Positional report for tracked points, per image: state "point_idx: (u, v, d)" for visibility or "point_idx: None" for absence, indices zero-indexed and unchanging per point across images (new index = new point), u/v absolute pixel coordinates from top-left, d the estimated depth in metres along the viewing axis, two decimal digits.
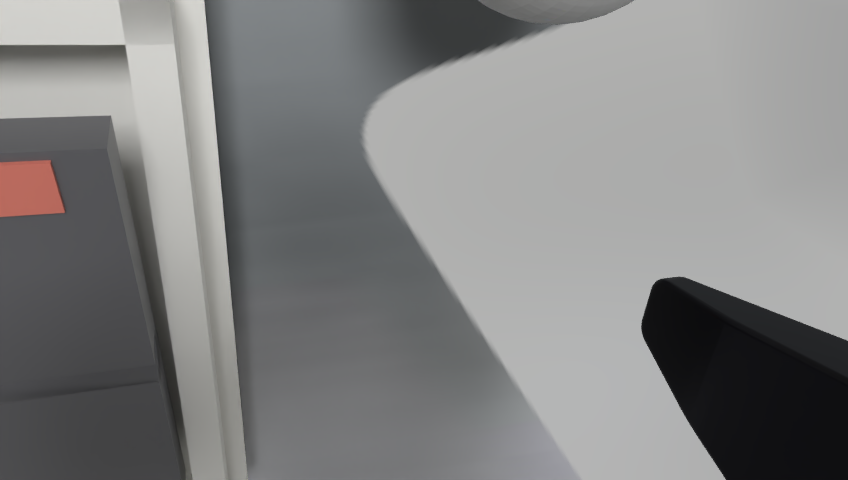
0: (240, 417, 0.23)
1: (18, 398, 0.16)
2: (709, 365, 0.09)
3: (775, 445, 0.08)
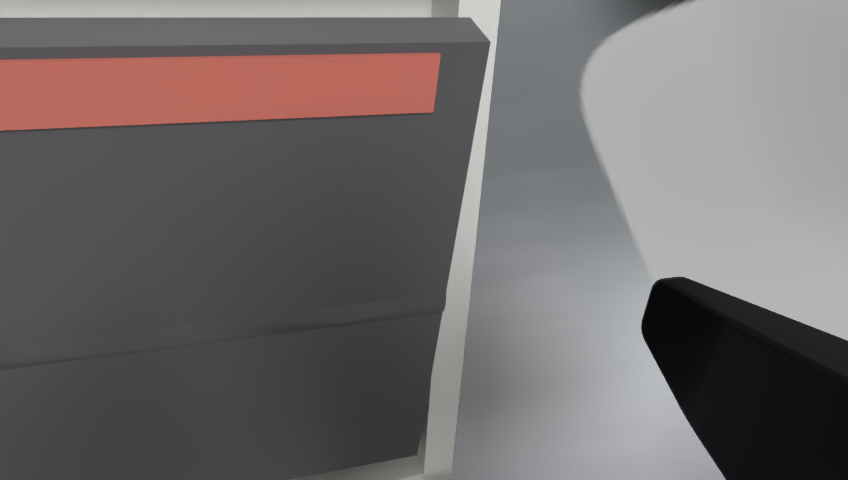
0: None
1: (319, 325, 0.16)
2: (709, 365, 0.09)
3: (775, 445, 0.08)
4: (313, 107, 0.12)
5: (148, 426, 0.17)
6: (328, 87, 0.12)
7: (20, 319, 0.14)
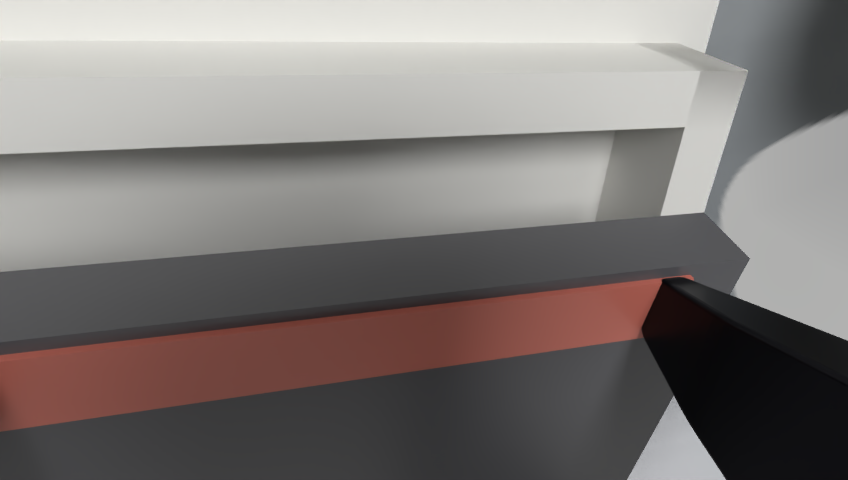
0: None
1: None
2: (709, 365, 0.09)
3: (775, 445, 0.08)
4: (534, 341, 0.10)
5: None
6: (560, 324, 0.10)
7: None
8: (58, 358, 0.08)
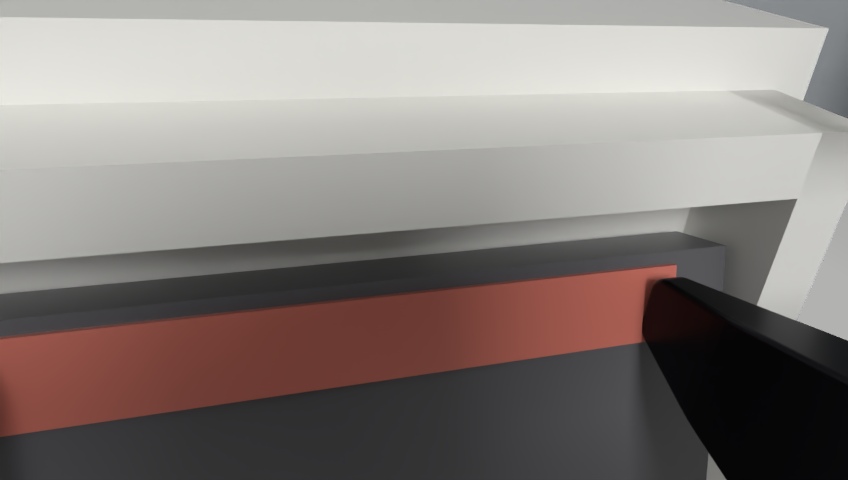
0: None
1: None
2: (709, 365, 0.09)
3: (775, 445, 0.08)
4: (536, 344, 0.10)
5: None
6: (554, 316, 0.10)
7: None
8: (64, 343, 0.08)
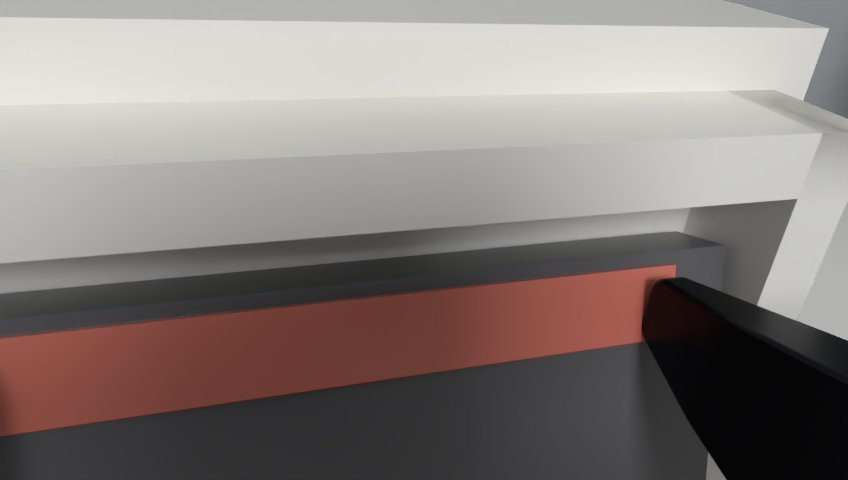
0: None
1: None
2: (709, 365, 0.09)
3: (775, 445, 0.08)
4: (535, 344, 0.10)
5: None
6: (554, 316, 0.10)
7: None
8: (65, 343, 0.08)
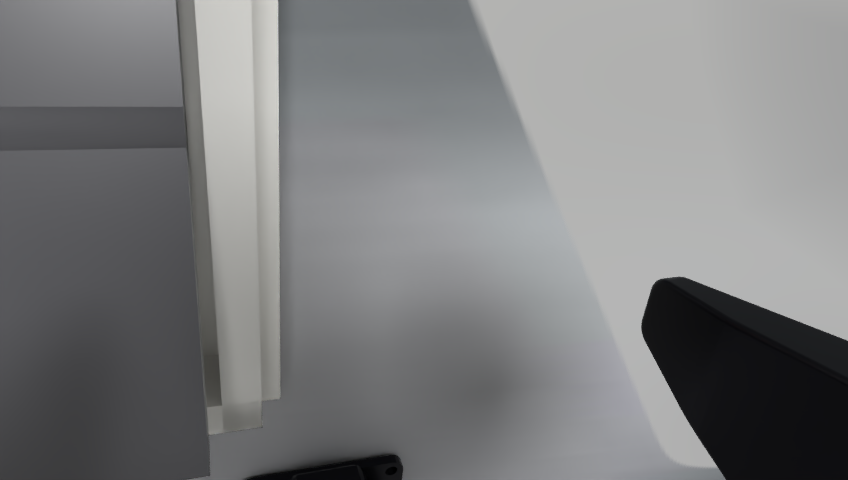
0: (277, 280, 0.18)
1: None
2: (709, 365, 0.09)
3: (775, 445, 0.08)
4: None
5: None
6: None
7: None
8: None
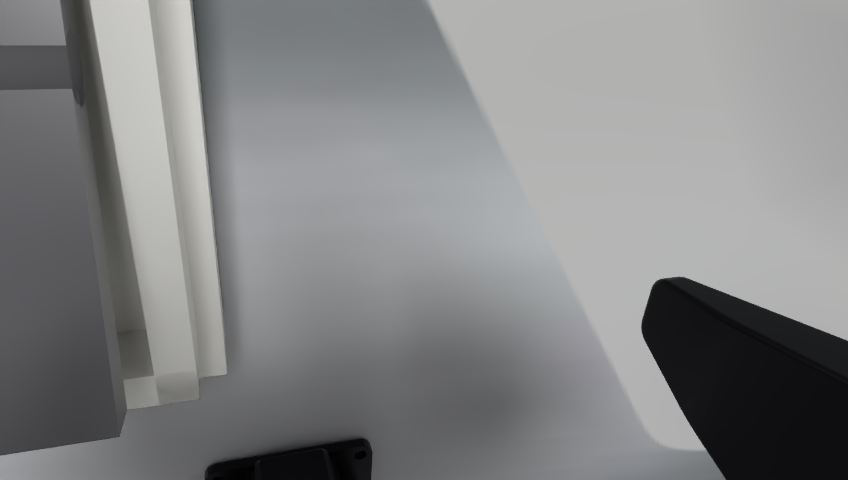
0: (212, 247, 0.17)
1: None
2: (709, 365, 0.09)
3: (775, 445, 0.08)
4: None
5: None
6: None
7: None
8: None
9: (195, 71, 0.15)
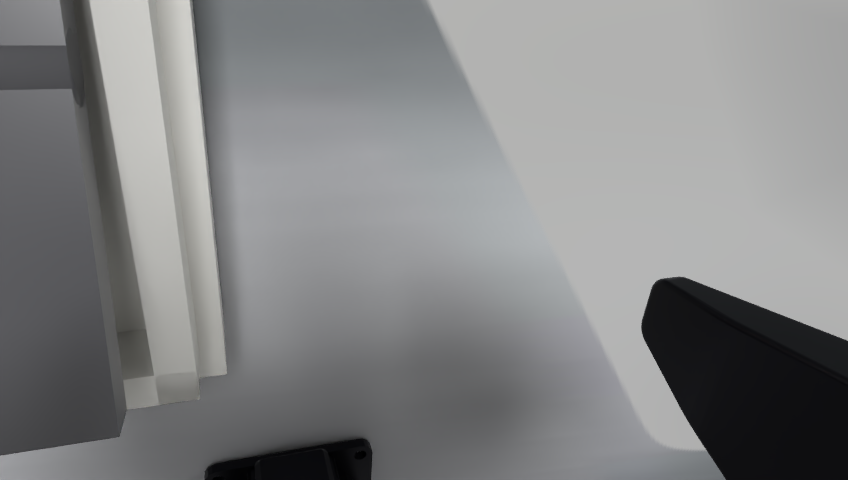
0: (212, 247, 0.17)
1: None
2: (709, 365, 0.09)
3: (775, 445, 0.08)
4: None
5: None
6: None
7: None
8: None
9: (195, 71, 0.15)
